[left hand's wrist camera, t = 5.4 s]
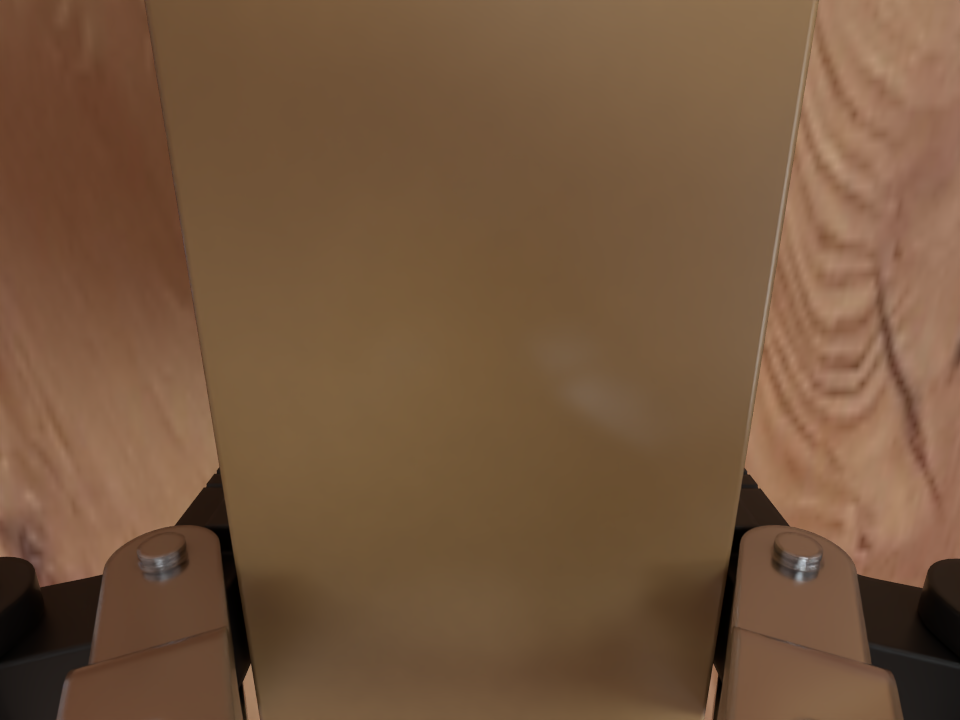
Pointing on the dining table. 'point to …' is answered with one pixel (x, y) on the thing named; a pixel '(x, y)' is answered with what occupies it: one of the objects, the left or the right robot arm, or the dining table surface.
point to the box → (481, 335)
